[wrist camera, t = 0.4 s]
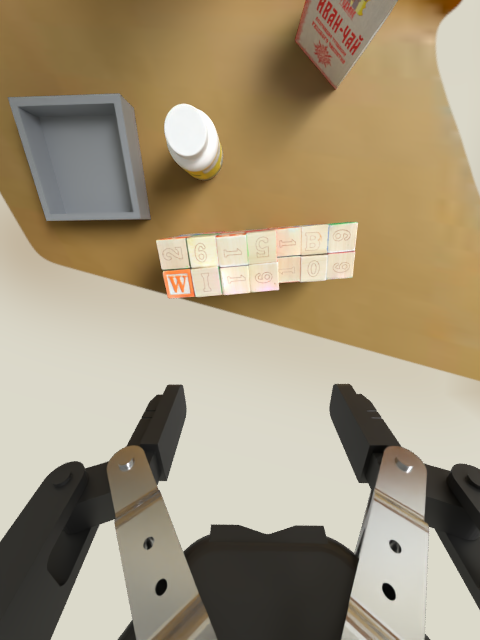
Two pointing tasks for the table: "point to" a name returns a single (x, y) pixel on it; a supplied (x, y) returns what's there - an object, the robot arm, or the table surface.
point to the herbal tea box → (339, 32)
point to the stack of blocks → (256, 259)
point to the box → (83, 156)
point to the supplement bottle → (193, 141)
